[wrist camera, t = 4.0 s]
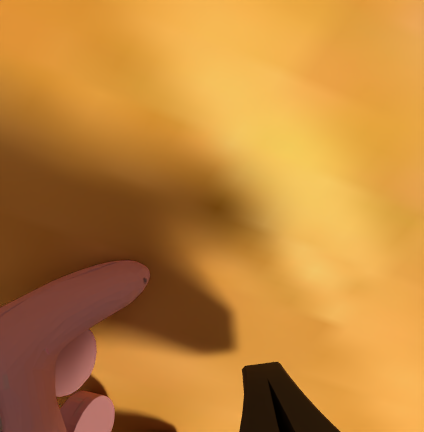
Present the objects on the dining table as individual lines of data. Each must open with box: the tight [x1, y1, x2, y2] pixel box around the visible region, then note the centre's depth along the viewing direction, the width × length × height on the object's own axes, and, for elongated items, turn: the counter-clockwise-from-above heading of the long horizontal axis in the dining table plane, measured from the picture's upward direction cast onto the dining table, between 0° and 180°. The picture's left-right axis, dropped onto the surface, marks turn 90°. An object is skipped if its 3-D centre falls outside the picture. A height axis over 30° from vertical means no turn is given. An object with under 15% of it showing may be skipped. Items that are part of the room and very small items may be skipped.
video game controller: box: [0, 260, 150, 432], centre depth 12 cm, size 10×5×7 cm, turn 8°
